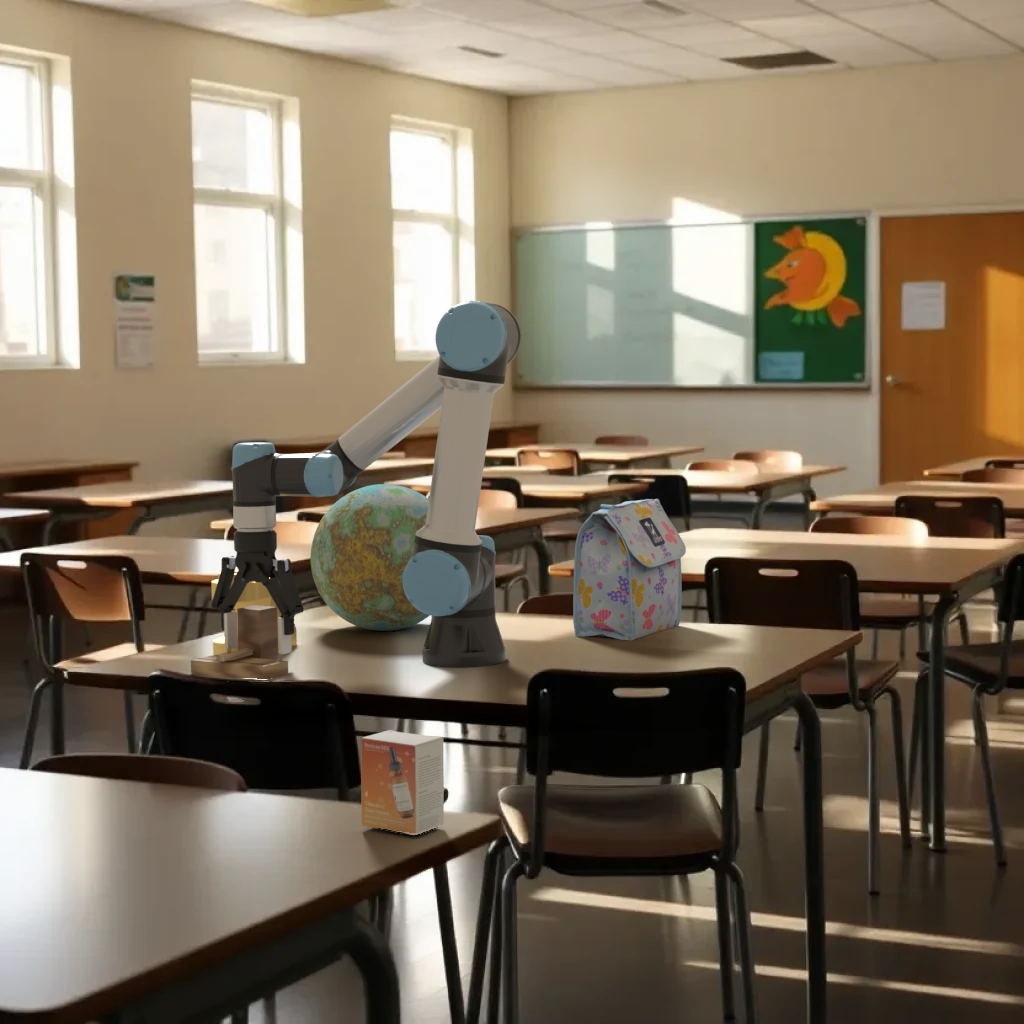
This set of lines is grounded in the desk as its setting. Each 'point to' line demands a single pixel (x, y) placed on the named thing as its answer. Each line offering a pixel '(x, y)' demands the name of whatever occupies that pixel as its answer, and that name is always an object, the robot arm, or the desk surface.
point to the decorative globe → (369, 555)
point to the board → (240, 667)
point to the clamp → (250, 596)
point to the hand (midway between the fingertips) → (258, 650)
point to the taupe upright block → (255, 634)
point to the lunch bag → (627, 572)
